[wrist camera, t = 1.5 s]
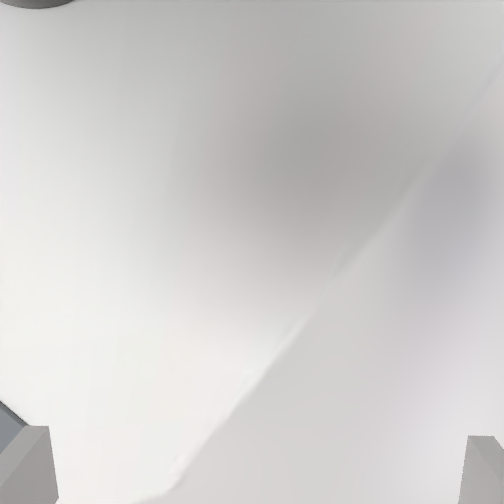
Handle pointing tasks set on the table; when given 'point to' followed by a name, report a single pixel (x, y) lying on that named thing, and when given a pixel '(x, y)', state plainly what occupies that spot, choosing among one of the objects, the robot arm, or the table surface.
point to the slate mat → (8, 426)
